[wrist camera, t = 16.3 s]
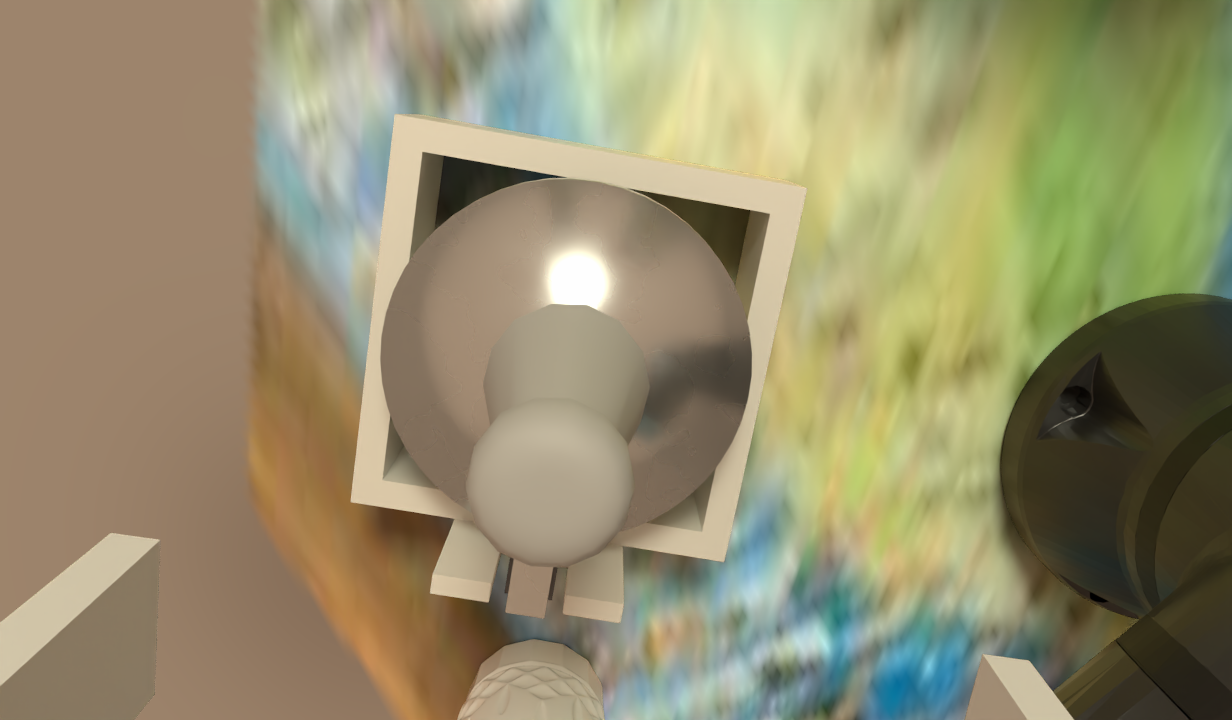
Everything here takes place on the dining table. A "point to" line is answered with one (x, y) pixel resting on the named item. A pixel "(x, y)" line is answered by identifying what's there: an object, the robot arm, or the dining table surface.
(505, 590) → the peak pointer
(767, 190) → the square open box
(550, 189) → the grey shiny rounded piece
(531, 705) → the white cup
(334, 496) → the dining table surface
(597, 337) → the salt shaker
